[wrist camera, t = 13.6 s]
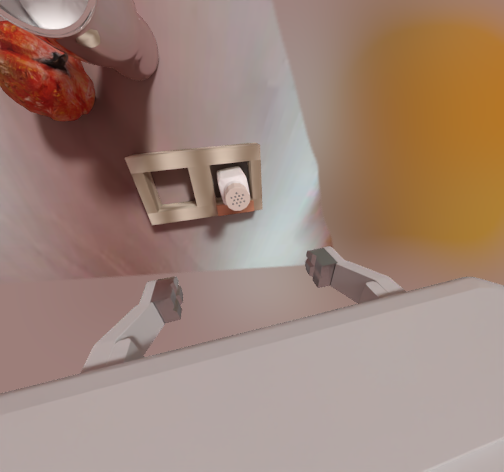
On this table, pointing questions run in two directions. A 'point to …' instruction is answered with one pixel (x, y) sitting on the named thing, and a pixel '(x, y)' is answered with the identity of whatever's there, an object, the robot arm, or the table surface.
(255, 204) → the slot rack
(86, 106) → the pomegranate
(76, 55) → the beer glass
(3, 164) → the table surface
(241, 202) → the pepper shaker
